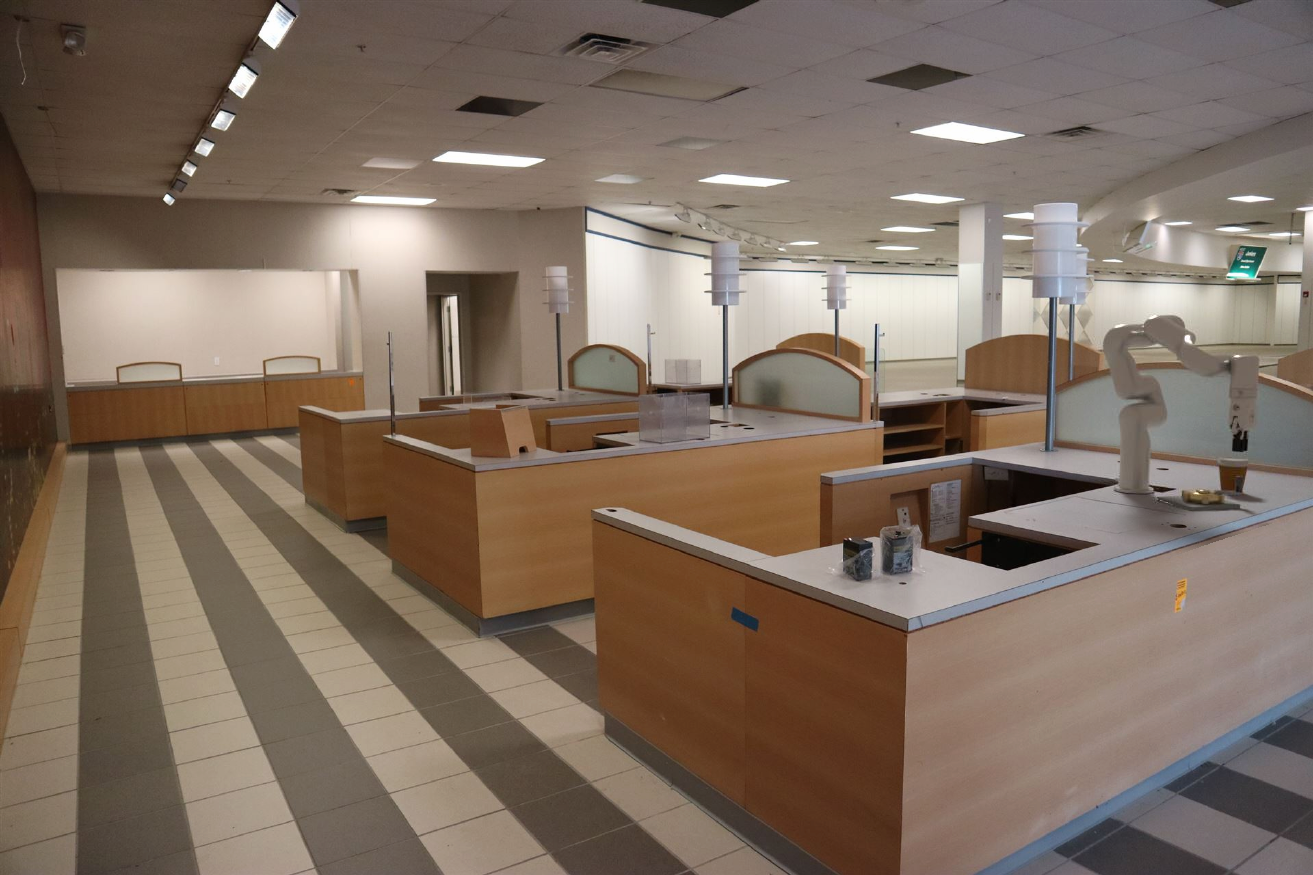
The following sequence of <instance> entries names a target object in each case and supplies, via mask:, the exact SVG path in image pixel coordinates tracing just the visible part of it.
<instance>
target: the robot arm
mask: <svg viewBox="0 0 1313 875" xmlns="http://www.w3.org/2000/svg"><path fill="white" fill-rule="evenodd" d="M1196 339H1197V337H1196V335H1195V333H1193V332H1192V331H1190V330H1188V329H1187V328H1186V325H1185V322H1184V320H1183V319H1182V318H1181V317H1179V316H1177V315H1175V314H1163V315H1159V314H1158V315H1153V316H1150V317H1149V318H1147V319H1146V320H1145V321H1144V323H1126V324H1118V325H1116V326H1113V327H1112V328H1110V330H1109V329H1108V331H1107V332H1106V334H1105V335H1104V339H1103V341H1102V349H1103V350H1102V351H1103V354H1104V357H1105V359H1106V361H1107V364H1108V368H1109V372H1110V376H1111V379H1112V382H1113V386H1114V390H1115V392H1116V395H1117V397H1118V398H1119V399H1120V400H1122V401H1128V402H1129V401H1131V402H1132V401H1137V402H1136V403H1130V404H1127V405H1125V406H1123V408H1121V410H1120V412H1119V413H1118V414H1119V415H1118V424H1119V425H1118V426H1119V431H1120V445H1119V446H1120V451H1119V452H1120V453H1119V475H1118V476H1117V477H1116V478H1115V480H1114V481H1115V482H1117V485H1114V486H1113V489H1114V491H1116V492H1118V493H1119V492H1120V493H1126V494H1136V495H1137V494H1138V495H1141V494H1143V495H1144V494H1152V493H1154V488H1153V487H1151V486H1150V485H1149V484H1150V469H1151V468H1150V466H1151V444H1152V442H1151V438H1150V437H1151V436H1150V434H1149V432H1148V430H1151V429H1156V428H1160V427H1162V426H1164V424H1165V423H1166V422H1167V419H1168V410H1167V409H1168V408H1167V406H1166V402H1165V399H1164V395H1163V392H1162V387H1161V385H1160V383H1159V381H1158V379H1157V378H1156V377H1155V376H1154V375H1152V374H1150V373H1145V372H1142V373H1140V372H1139V371H1138V367H1137V363H1136V361H1135V358H1134V357H1133V355H1132V354H1131V353H1130V352H1129V350H1128V349H1132V348H1133V349H1135V348H1146V347H1150V346H1155V345H1160V346H1162V347H1163V348H1165V349H1166V350H1168V351H1170V352H1171V353H1173V354H1174V355H1175V357H1176V358H1177V360H1178V361H1179V363H1180V364H1181V365H1182V366H1183V367H1185V368H1186V369H1187V370H1189V371H1191V372H1193V373H1194V374H1196V375H1198V376H1201V377H1202V378H1206V379H1210V378H1211V379H1212V378H1227V377H1229V389H1228V390H1229V391H1228V398H1229V399H1230V406H1229V412H1228V413H1229V414H1228V428H1229V429H1230V433H1231V435H1232V436H1231V437H1232V440H1231V441H1232V442H1231V444H1232V445H1231V451H1232V452H1235V453H1244V452H1248V448H1249V446H1248V445H1249V434H1250V430H1254V429H1255V428H1256V427H1257V401H1256V400H1257V399H1258V389H1259V388H1258V387H1259V374H1260V358H1259V356H1258V355H1253V354H1234V353H1213V354H1210V353H1208V352H1206V351H1204V350H1203V349H1200V348H1199V347H1198V346H1196V345H1195V343H1196Z"/></svg>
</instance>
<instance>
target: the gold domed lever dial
mask: <svg viewBox="0 0 1313 875" xmlns="http://www.w3.org/2000/svg"><path fill="white" fill-rule="evenodd" d="M1242 490H1243V491H1244V486H1243V476H1236V485H1235V491H1228V490H1221V489H1214V490H1210V489H1205V488H1204V489H1202V488H1197V489H1182V490H1181V496H1182V498H1183V501H1186V502H1193V503H1201V504H1218V503H1220V504H1223V503H1224V500H1225V499H1226V497H1225V495H1227V496H1229V495H1231V496H1243V494H1244V492H1243V491H1242Z"/></svg>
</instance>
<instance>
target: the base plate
mask: <svg viewBox="0 0 1313 875" xmlns="http://www.w3.org/2000/svg"><path fill="white" fill-rule="evenodd" d="M1157 499H1158V500H1162V501H1164V502H1168V503H1170V504H1169V505H1171V504H1172V506H1174V505H1175V507H1178V508H1181V507H1182V508H1181V509H1185V510H1187V509H1188V511H1192V512H1193V511H1213V510H1232V509H1235V510H1236V509H1241V504H1240V503H1236V502H1232V501H1228V500H1225V499H1224V503H1223V504H1220V503H1218V504H1201V503H1193V502H1186V501H1183V498H1182V495H1171V496H1170V495H1167V496H1156V500H1157ZM1158 500H1157V501H1158ZM1164 502H1163V503H1164Z"/></svg>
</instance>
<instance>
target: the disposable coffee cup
mask: <svg viewBox="0 0 1313 875" xmlns="http://www.w3.org/2000/svg"><path fill="white" fill-rule="evenodd" d="M1217 465H1218V470H1219V472H1218V473H1219V483H1220V484H1219V485H1220V490H1228V491H1235V485H1236V476H1243V487H1244V485H1245V480H1246V477H1247V472H1248V467H1249V465H1250V462H1249V459H1248V458H1245V457H1235V456H1222V457H1221V456H1220V457H1219V458H1218V460H1217ZM1243 491H1244V489H1243V490H1242V492H1243Z"/></svg>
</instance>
